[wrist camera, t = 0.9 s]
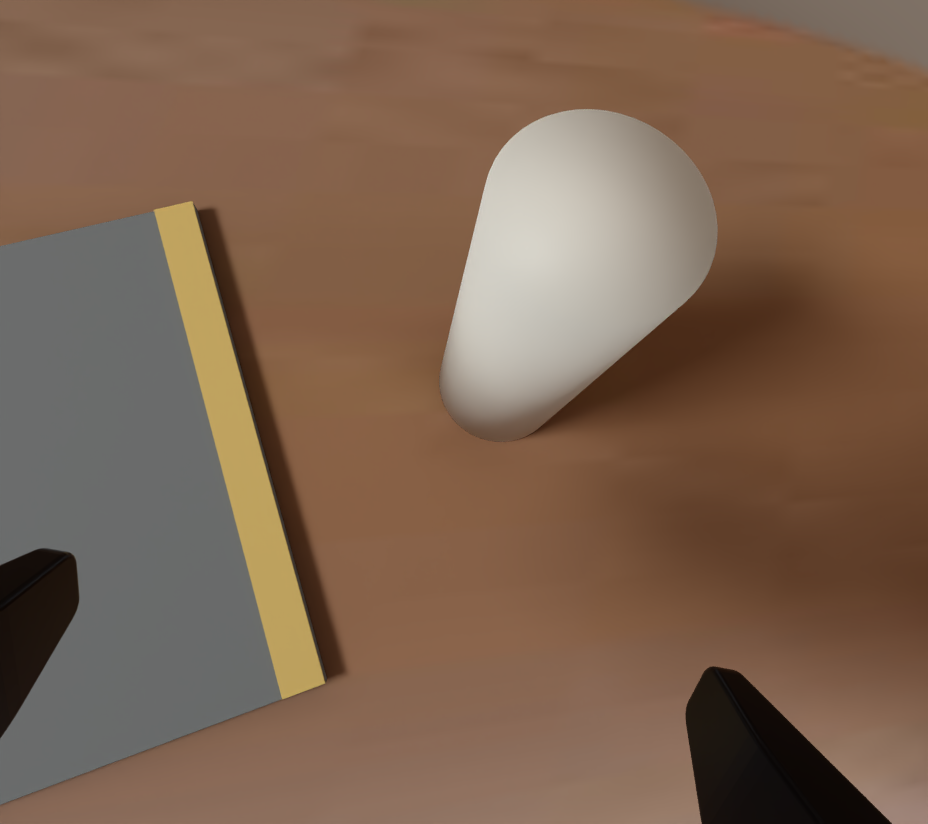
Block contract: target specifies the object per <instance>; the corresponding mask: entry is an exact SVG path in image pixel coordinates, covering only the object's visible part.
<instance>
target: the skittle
mask: <svg viewBox="0 0 928 824" xmlns="http://www.w3.org/2000/svg"><path fill="white" fill-rule="evenodd" d="M717 229H718V227H717V217H716V211H715V207H714V203H713V199H712V196H711V194H710V191H709V188H708V186H707V184H706V182H705V180H704V178H703V177H702V175H701V173H700V171H699V170H698V169H697V167H696V166H695V164H694V163H693V161H692V160H691V159H690V158H689V157H688V156H687V154H686V153H685V152H684V151H683V150H682V149H681V148H680V147H679V146H678V145H677V144H675V143H674V142H673V141H672V140H671V139H670V138H668V137H667V136H665V135H664V134H663V133H661V132H660V131H658V130H657V129H655V128H653V127H651V126H650V125H648V124H646V123H644V122H641V121H639V120H637V119H635V118H632V117H629V116H626V115H623V114H619V113H615V112H610V111H605V110H593V109H582V110H570V111H564V112H559V113H556V114H552V115H549V116H546V117H544V118H541V119H539V120H537V121H535V122H533V123H531V124H530V125H528V126H526V127H525V128H523V129H522V130H520V131H519V132H518V133H517V134H516V135H514V136H513V137H512V138H511V139H510V140H509V141H508V142H507V144H506V145H505V146H504V147H503V148H502V150H501V151H500V153H499V154H498V156H497V157H496V159H495V160H494V163H493V165H492V167H491V169H490V171H489V174H488V178H487V181H486V184H485V188H484V192H483V197H482V201H481V205H480V209H479V213H478V217H477V221H476V225H475V229H474V234H473V238H472V242H471V246H470V250H469V254H468V258H467V262H466V266H465V271H464V275H463V279H462V283H461V287H460V291H459V295H458V299H457V303H456V308H455V312H454V316H453V320H452V324H451V328H450V332H449V336H448V341H447V345H446V349H445V353H444V357H443V361H442V365H441V369H440V376H439V387H440V394H441V397H442V401H443V403H444V406H445V408H446V410H447V411H448V413H449V415H450V416H451V417H452V419H453V420H454V421H455V422H456V423H457V424H458V425H459V426H460V427H461V428H463V429H464V430H465V431H467V432H468V433H470V434H472V435H474V436H476V437H478V438H481V439H484V440H488V441H494V442H507V441H514V440H518V439H521V438H523V437H526V436H528V435H529V434H531V433H533V432H534V431H536V430H537V429H538V428H540V427H541V426H542V425H543V424H544V423H545V422H547V421H548V420H549V419H550V418H551V417H552V416H553V415H555V414H556V413H557V412H558V411H559V410H560V409H562V408H563V407H564V406H565V405H566V404H567V403H569V402H570V401H571V400H572V399H573V398H574V397H576V396H577V395H578V394H579V393H580V392H581V391H583V390H584V389H585V388H586V387H587V386H588V385H590V384H591V383H592V382H593V381H594V380H595V379H597V378H598V377H599V376H600V375H601V374H602V373H604V372H605V371H606V370H607V369H608V368H609V367H611V366H612V365H613V364H614V363H615V362H616V361H618V360H619V359H620V358H621V357H622V356H623V355H625V354H626V353H627V352H628V351H629V350H630V349H631V348H633V347H634V346H635V345H636V344H637V343H638V342H640V341H641V340H642V339H643V338H644V337H645V336H647V335H648V334H649V333H650V332H651V331H652V330H654V329H655V328H656V327H657V326H658V325H659V324H661V323H662V322H663V321H664V320H665V319H666V318H668V317H669V316H670V315H671V314H672V313H673V312H675V311H676V310H677V309H678V308H679V307H680V306H682V305H683V304H684V303H685V302H686V301H687V300H688V299H689V298H690V297H691V296H692V295H693V294H694V293H695V292H696V291H697V289H698V288H699V287H700V285H701V284H702V282H703V281H704V279H705V277H706V275H707V273H708V272H709V270H710V267H711V264H712V261H713V258H714V255H715V250H716V245H717Z"/></svg>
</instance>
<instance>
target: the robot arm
mask: <svg viewBox="0 0 928 824" xmlns="http://www.w3.org/2000/svg"><path fill="white" fill-rule="evenodd" d="M79 597H80V596H79V584H78V572H77V562H76V558H75V556H74V555H73V554H72V553H70V552H66V551H61V550H55V549H49V548H39V549H36V550H33V551H31V552H29V553H27V554H24V555H22V556H20V557H17V558H15V559H13V560H11V561H8V562H6V563H4V564H1V565H0V738H1V737H2V735H3V734H4V733H5V731H6V730H7V728H8V727H9V725H10V724H11V722H12V721H13V719H14V718H15V716H16V714H17V713H18V711H19V710H20V708H21V706H22V705H23V703H24V701H25V700H26V698H27V696H28V694H29V693H30V691H31V689H32V688H33V686H34V684H35V682H36V681H37V679H38V677H39V676H40V674H41V672H42V671H43V669H44V667H45V665H46V664H47V662H48V660H49V659H50V657H51V655H52V653H53V652H54V650H55V648H56V647H57V645H58V643H59V641H60V640H61V638H62V636H63V635H64V633H65V631H66V630H67V628H68V626H69V624H70V623H71V621H72V619H73V618H74V616H75V614H76V611H77V609H78V605H79ZM686 726H687V733H688V739H689V745H690V752H691V758H692V765H693V771H694V778H695V784H696V791H697V797H698V804H699V810H700V816H701V822H702V824H892V823H891V822H890V821H889V820H888V819H887V818H886V817H885V816H884V815H883V814H882V813H881V812H880V811H879V810H878V809H877V808H876V807H875V806H874V805H873V804H872V803H871V802H870V801H869V800H868V799H867V798H866V797H865V796H864V795H863V794H862V793H861V792H860V791H859V790H858V789H857V788H856V787H855V786H854V785H853V784H852V783H851V782H850V781H849V780H848V779H847V778H845V777H844V776H843V775H842V774H841V773H840V772H839V771H838V770H837V769H836V768H835V767H834V766H833V765H832V764H831V763H830V762H829V761H828V760H827V759H826V758H825V757H824V756H823V755H822V754H821V753H820V752H819V751H818V750H817V749H816V748H815V747H814V746H813V745H812V744H811V743H810V742H809V741H808V740H807V739H806V738H805V737H804V736H803V735H802V734H801V733H800V732H799V731H798V730H797V729H796V728H795V727H794V726H793V725H792V724H791V723H790V722H789V721H788V720H787V719H786V718H785V717H784V716H783V715H782V714H781V713H780V712H779V711H778V710H777V709H776V708H775V707H774V706H773V705H772V704H771V703H770V702H769V701H768V700H767V699H766V698H765V697H764V696H763V695H762V694H761V693H760V692H759V691H758V690H757V689H756V688H755V687H754V686H753V685H752V684H751V683H750V682H749V681H748V680H747V679H746V678H745V677H744V676H743V675H742V674H740V673H739V672H737V671H735V670H731V669H725V668H720V667H709V668H707V669H706V670H705V671H704V673H703V675H702V677H701V679H700V680H699V682H698V684H697V686H696V688H695V690H694V692H693V694H692V696H691V697H690V699H689V701H688V704H687V707H686Z"/></svg>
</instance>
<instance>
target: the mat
mask: <svg viewBox="0 0 928 824" xmlns="http://www.w3.org/2000/svg"><path fill="white" fill-rule="evenodd" d="M39 548H49V549H55V550H61V551H66V552H70V553H72V554H73V555H74V556H75V558H76V562H77V572H78V584H79V596H80V597H79V605H78V609H77V611H76V614H75V616H74V618H73V619H72V621H71V623H70V624H69V626H68V628H67V630H66V631H65V633H64V635H63V636H62V638H61V640H60V641H59V643H58V645H57V647H56V648H55V650H54V652H53V653H52V655H51V657H50V659H49V660H48V662H47V664H46V665H45V667H44V669H43V671H42V672H41V674H40V676H39V677H38V679H37V681H36V682H35V684H34V686H33V688H32V689H31V691H30V693H29V694H28V696H27V698H26V700H25V701H24V703H23V705H22V706H21V708H20V710H19V711H18V713H17V714H16V716H15V718H14V719H13V721H12V722H11V724H10V725H9V727H8V728H7V730H6V731H5V733H4V734H3V735H2V737H1V738H0V805H1V804H3V803H6V802H9V801H11V800H14V799H17V798H19V797H22V796H25V795H27V794H30V793H33V792H35V791H38V790H41V789H43V788H46V787H49V786H51V785H54V784H57V783H59V782H62V781H65V780H67V779H70V778H73V777H75V776H78V775H81V774H83V773H86V772H89V771H91V770H94V769H97V768H99V767H102V766H105V765H107V764H110V763H113V762H115V761H118V760H121V759H123V758H126V757H129V756H131V755H134V754H137V753H139V752H142V751H145V750H147V749H150V748H153V747H155V746H158V745H161V744H163V743H166V742H169V741H171V740H174V739H177V738H179V737H182V736H185V735H187V734H190V733H193V732H195V731H198V730H201V729H203V728H206V727H209V726H211V725H214V724H217V723H219V722H222V721H225V720H227V719H230V718H233V717H235V716H238V715H241V714H243V713H246V712H249V711H251V710H254V709H257V708H259V707H262V706H265V705H267V704H270V703H273V702H275V701H278V700H281V699H285V698H288V697H290V696H293V695H296V694H298V693H301V692H304V691H306V690H309V689H312V688H314V687H317V686H320V685H322V684H325V683H326V681H327V677H326V674H325V670H324V666H323V663H322V659H321V656H320V652H319V648H318V645H317V641H316V638H315V634H314V630H313V627H312V623H311V619H310V616H309V612H308V609H307V605H306V601H305V598H304V594H303V591H302V587H301V583H300V580H299V576H298V573H297V569H296V565H295V562H294V558H293V554H292V551H291V547H290V544H289V540H288V536H287V533H286V529H285V526H284V522H283V518H282V515H281V511H280V507H279V504H278V500H277V497H276V493H275V489H274V486H273V482H272V479H271V475H270V471H269V468H268V464H267V460H266V457H265V453H264V450H263V446H262V442H261V439H260V435H259V432H258V428H257V424H256V421H255V417H254V413H253V410H252V406H251V403H250V399H249V395H248V392H247V388H246V385H245V381H244V377H243V374H242V370H241V366H240V363H239V359H238V356H237V352H236V348H235V345H234V341H233V338H232V334H231V330H230V327H229V323H228V320H227V316H226V312H225V309H224V305H223V301H222V298H221V294H220V291H219V287H218V283H217V280H216V276H215V273H214V269H213V265H212V262H211V258H210V254H209V251H208V247H207V244H206V240H205V236H204V233H203V229H202V226H201V222H200V218H199V215H198V211H197V209H196V207H195V205H194V204H193V202H192V201H191V202H186V203H182V204H177V205H173V206H169V207H164V208H160V209H155V210H154V212H149V213H145V214H141V215H136V216H132V217H127V218H123V219H119V220H114V221H110V222H105V223H101V224H96V225H92V226H88V227H83V228H79V229H74V230H70V231H66V232H61V233H57V234H52V235H48V236H43V237H39V238H35V239H30V240H26V241H21V242H17V243H13V244H8V245H4V246H0V565H1V564H4V563H6V562H8V561H11V560H13V559H15V558H17V557H20V556H22V555H24V554H27V553H29V552H31V551H33V550H36V549H39Z"/></svg>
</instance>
